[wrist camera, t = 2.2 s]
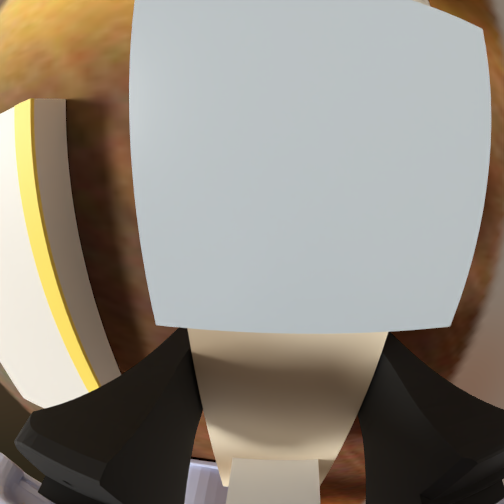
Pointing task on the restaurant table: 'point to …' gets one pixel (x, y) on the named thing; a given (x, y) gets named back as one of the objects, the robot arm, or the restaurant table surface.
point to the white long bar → (282, 392)
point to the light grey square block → (307, 162)
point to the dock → (45, 265)
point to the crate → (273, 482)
